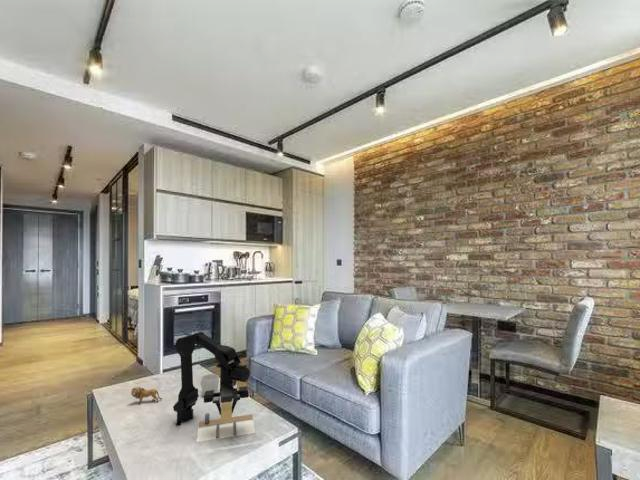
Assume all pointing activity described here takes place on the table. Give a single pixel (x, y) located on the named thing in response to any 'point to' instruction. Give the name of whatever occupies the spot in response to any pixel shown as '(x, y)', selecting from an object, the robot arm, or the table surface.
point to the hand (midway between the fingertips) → (226, 413)
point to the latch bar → (226, 411)
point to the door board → (224, 428)
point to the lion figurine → (144, 394)
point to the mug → (210, 383)
